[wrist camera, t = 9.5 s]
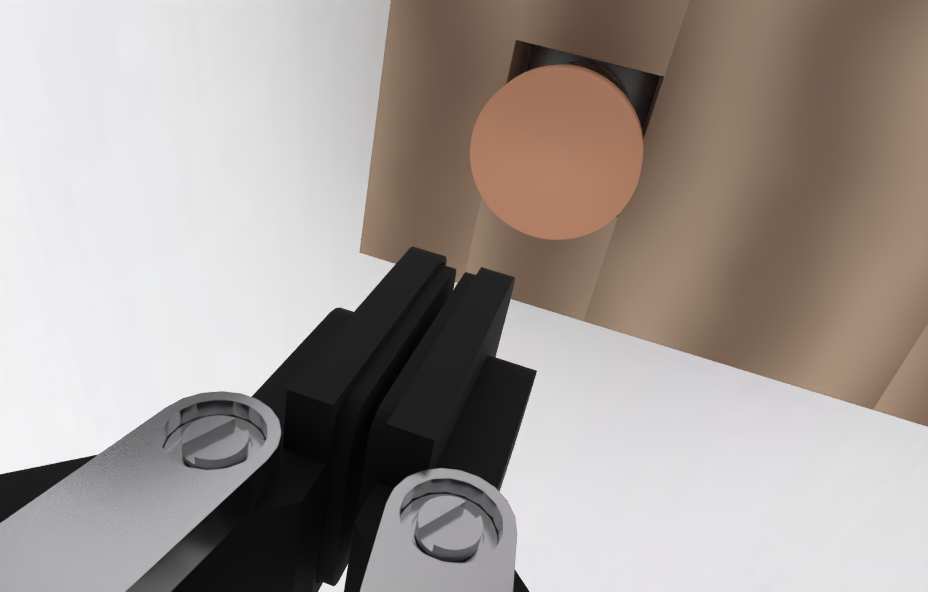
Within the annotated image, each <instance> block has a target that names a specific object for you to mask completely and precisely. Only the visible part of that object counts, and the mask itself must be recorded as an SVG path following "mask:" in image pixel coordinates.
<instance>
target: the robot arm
mask: <svg viewBox="0 0 928 592" xmlns="http://www.w3.org/2000/svg"><path fill="white" fill-rule="evenodd" d="M446 263H447V259H446V256H443V255H440V254H437V253H433V252H430V251H427V250H423V249H420V248H417V247H413V246H412V247H411V248H409V250H408V251H407V252H406V253H405V254H404V255H403V256H402V258H401V259H400V260H399V261H398V262H397V263H396V264H395V266H394V267H393V268H392V269H391V270H390V271H389V273H388V274H387V275H386V276H385V277H384V278H383V279H382V281H381V282H380V283H379V284H378V285H377V286H376V288H375V289H374V290H373V291H372V292H371V293H370V294H369V296H368V297H367V298H366V299H365V300H364V301H363V302H362V304H361V305H360V306H359V307H358V308H357V309H356V311H355V312H352V311H349V310H346V309H343V308H335V309H334V310H333V311H331V312H330V313H329V314H328V315H327V316H326V318H325V319H324V320H323V321H322V322H321V323H320V324H319V325H318V326H317V327H316V328H315V329H314V330H313V331H312V333H311V334H310V335H309V336H308V337H307V338H306V339H305V340H304V341H303V342H302V343H301V344H300V345H299V346H298V348H297V349H296V350H295V351H294V352H293V353H292V354H291V355H290V356H289V357H288V358H287V359H286V360H285V362H284V363H283V364H282V365H281V366H280V367H279V368H278V369H277V370H276V371H275V372H274V373H273V374H272V375H271V377H270V378H269V379H268V380H267V381H266V382H265V383H264V384H263V385H262V386H261V387H260V388H259V389H258V390H257V392H256V393H255V394H254V395H253V396H252V397H249V396H246V395H243V394H240V393H231V392H209V393H201V394H197V395H194V396H190V397H186V398H183V399H181V400H179V401H177V402H175V403H174V404H172V405H170V406H168V407H166V408H165V409H163V410H162V411H160V412H159V413H158V414H156V415H155V416H153V417H152V418H150V419H149V420H148V421H146V422H145V423H143V424H142V425H140V426H139V427H137V428H136V429H135V430H133V431H132V432H130V433H129V434H127V435H126V436H125V437H123V438H122V439H120V440H119V441H117V442H116V443H115V444H113V445H112V446H110V447H109V448H107V449H106V450H104V451H103V452H102V453H100V454H99V455H94V456H89V457H84V458H79V459H74V460H69V461H64V462H59V463H55V464H50V465H45V466H40V467H35V468H30V469H25V470H20V471H15V472H10V473H5V474H0V592H318V590H319V589H320V587H321V585H322V583H323V582H324V583H327V584H329V585H332V586H335V585H336V584H337V583H338V581H339V579H340V578H341V576H342V574H343V572H344V570H345V568H346V566H347V564H348V569H347V576H346V582H345V589H344V592H529V590H528V589H527V587H526V586H525V584H524V583H523V581H522V580H521V578H520V577H519V575H518V574H517V572H516V571H515V556H516V543H517V527H516V519H515V515H514V513H513V511H512V509H511V507H510V505H509V503H508V501H507V500H506V499H505V498H504V497H503V495H502V494H501V493H500V492H499V491H500V488H501V485H502V482H503V479H504V476H505V473H506V470H507V467H508V464H509V460H510V457H511V454H512V451H513V448H514V445H515V441H516V438H517V435H518V432H519V429H520V425H521V422H522V419H523V416H524V412H525V409H526V406H527V403H528V399H529V396H530V393H531V389H532V386H533V383H534V379H535V376H536V372H537V371H536V370H533V369H529V368H526V367H523V366H520V365H517V364H514V363H511V362H508V361H505V360H501V359H498V358H495V357H496V353H497V349H498V345H499V341H500V337H501V333H502V330H503V326H504V322H505V318H506V314H507V310H508V307H509V303H510V299H511V295H512V291H513V287H514V282H515V277H513V276H509V275H506V274H503V273H500V272H496V271H493V270H490V269H486V268H483V267H481V268H480V269H479V271H478V272H477V274H476V275H475V274H471V273H468V272H465V273H464V274H463V276H462V278H461V279H460V281H459V282H458V284H457V285H456V287H455V288H454V283H455V278H456V269H455V268H452V267H448V266H446ZM453 288H454V290H453Z"/></svg>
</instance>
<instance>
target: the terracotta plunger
mask: <svg viewBox="0 0 928 592" xmlns="http://www.w3.org/2000/svg"><path fill="white" fill-rule="evenodd" d="M643 152H644V145H643V134H642V128H641V125H640V122H639V118H638V116H637V114H636V112H635V109H634V107H633V106H632V104H631V103H630V101H629V98H628V95H627V92H626V90H625V88H624V86H623V84H622V83H621V81H620V80H619V79H618V78H617V77H616V76H615V75H614V74H613V73H612V72H611V71H609V70H608V69H606V68H604V67H602V66H600V65H598V64H595V63H590V62H572V63H568V64H555V65H546V66H542V67H537V68H534V69H531V70H529V71H526V72H524V73H522V74H520V75H519V76H517V77H515V78H514V79H512V80H511V81H510V82H508V83H507V84H506V85H505V86H503V87H502V88H501V89H500V90H499V91H498V92H497V93H496V94H494V95H493V96H492V97H491V99H490V100H489V101H488V102H487V104H486V105H485V106H484V108H483V110H482V111H481V113H480V115H479V116H478V119H477V121H476V124H475V126H474V129H473V133H472V137H471V144H470V163H471V170H472V174H473V178H474V181H475V184H476V186H477V189H478V191H479V193H480V194H481V196H482V198H483V200H484V201H485V202H486V204H487V205H488V207H489V208H490V209H491V210H492V211H493V212H494V213H495V214H496V215H497V216H498V217H499V218H500V219H501V220H502V221H504V222H505V223H506V224H508V225H509V226H511V227H512V228H514V229H516V230H518V231H520V232H522V233H525V234H527V235H530V236H533V237H538V238H542V239H551V240H565V239H572V238H577V237H581V236H584V235H587V234H589V233H592V232H594V231H596V230H598V229H600V228H602V227H603V226H605V225H606V224H608V223H609V222H610V221H612V220H613V219H614V218H615V217H616V216H617V215H618V214H619V213H620V212H621V211H622V210H623V208H624V207H625V206H626V205H627V203H628V202H629V200H630V198H631V197H632V195H633V193H634V191H635V189H636V186H637V184H638V181H639V177H640V173H641V167H642V160H643Z"/></svg>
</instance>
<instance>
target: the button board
mask: <svg viewBox="0 0 928 592" xmlns="http://www.w3.org/2000/svg"><path fill="white" fill-rule="evenodd" d="M533 44H535V45H539V46H543V47H547V48H551V49H555V50H559V51H563V52H567V53H571V54H575V55H579V56H583V57H587V58H591V59H595V60H599V61H603V62H607V63H611V64H615V65H619V66H623V67H627V68H631V69H635V70H639V71H643V72H648V73H652V74H656V75H660V78H659V81H658V84H657V87H656V90H655V93H654V96H653V99H652V102H651V105H650V108H649V111H648V114H647V118H646V121H645V124H644V127H643V130H642V134H643V145H644V152H643V160H642V167H641V173H640V177H639V181H638V184H637V186H636V189H635V191H634V193H633V195H632V197H631V198H630V200H629V202H628V203H627V205H626V206H625V207H624V208H623V210H622V211H621V212H620V213H619V214H618V215H617V216H616V217H615V218H614V219H613V220H612V221H610V222H609V223H608V224H606V225H605V226H603V227H602V228H600V229H598V230H596V231H594V232H592V233H589V234H587V235H584V236H581V237H577V238H572V239H565V240H551V239H542V238H538V237H533V236H530V235H527V234H525V233H522V232H520V231H518V230H516V229H514V228H512V227H511V226H509V225H508V224H506V223H505V222H504V221H502V220H501V219H500V218H499V217H498V216H497V215H496V214H495V213H494V212H493V211H492V210H491V209H490V208H489V207H488V205H487V204H486V202H485V201H484V200H483V198H482V196H481V194H480V193H479V191H478V189H477V186H476V184H475V181H474V178H473V174H472V170H471V163H470V144H471V137H472V133H473V129H474V126H475V124H476V121H477V119H478V116H479V115H480V113H481V111H482V110H483V108H484V106H485V105H486V104H487V102H488V101H489V100H490V99H491V97H492V96H493V95H494V94H496V93H497V92H498V91H499V90H500V89H501V88H502V87H503V86H505V85H506V84H507V83H508V82H510V81H511V80H512V79H514V78H515V77H517V76H519V75H520V74H522V73H524V72H526V71H527V68H528V64H529V59H530V55H531V50H532V46H533ZM412 246H413V247H417V248H420V249H423V250H427V251H430V252H433V253H437V254H440V255H443V256H446V259H447V263H446V266H448V267H452V268H455V269H456V278H455V282H459V281H460V279H461V278H462V276H463V274H464V273H465V272H468V273H471V274H475V275H476V274H477V272H478V271H479V269H480V268H481V267H483V268H486V269H490V270H493V271H496V272H500V273H503V274H506V275H509V276H513V277H515V282H514V287H513V291H512V295H511V299H513V300H516V301H520V302H523V303H526V304H529V305H533V306H536V307H539V308H543V309H546V310H549V311H552V312H556V313H559V314H562V315H565V316H569V317H572V318H575V319H578V320H582V321H585V322H588V323H591V324H595V325H598V326H601V327H605V328H608V329H611V330H614V331H618V332H621V333H624V334H627V335H631V336H634V337H637V338H640V339H644V340H647V341H650V342H653V343H657V344H660V345H663V346H667V347H670V348H673V349H676V350H680V351H683V352H686V353H689V354H693V355H696V356H699V357H702V358H706V359H709V360H712V361H716V362H719V363H722V364H725V365H729V366H732V367H735V368H738V369H742V370H745V371H748V372H751V373H755V374H758V375H761V376H764V377H768V378H771V379H774V380H778V381H781V382H784V383H787V384H791V385H794V386H797V387H800V388H804V389H807V390H810V391H813V392H817V393H820V394H823V395H826V396H830V397H833V398H836V399H840V400H843V401H846V402H849V403H853V404H856V405H859V406H862V407H866V408H869V409H872V410H875V411H879V412H882V413H885V414H889V415H892V416H895V417H898V418H902V419H905V420H908V421H911V422H915V423H918V424H921V425H924V426H928V0H391V5H390V13H389V21H388V29H387V37H386V45H385V53H384V61H383V69H382V77H381V85H380V93H379V101H378V109H377V118H376V126H375V134H374V142H373V150H372V158H371V166H370V174H369V182H368V190H367V198H366V206H365V214H364V222H363V230H362V238H361V246H360V253H363V254H366V255H370V256H373V257H376V258H379V259H383V260H386V261H389V262H392V263H397V262H398V261H399V260H400V259H401V258H402V256H403V255H404V254H405V253H406V252H407V251H408V250H409V248H411V247H412Z"/></svg>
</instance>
